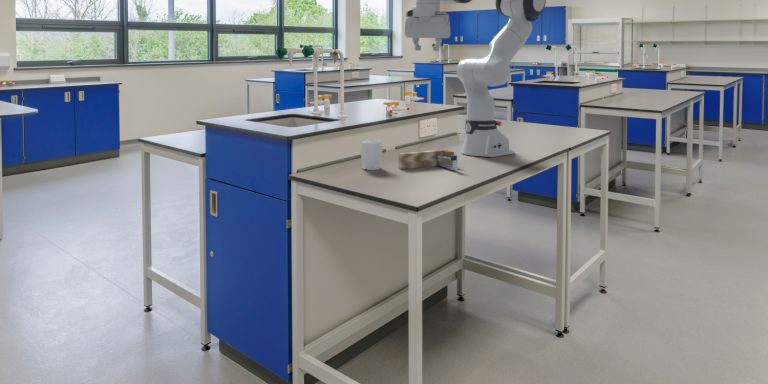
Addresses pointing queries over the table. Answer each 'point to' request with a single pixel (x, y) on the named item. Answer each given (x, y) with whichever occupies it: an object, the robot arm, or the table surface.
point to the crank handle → (447, 161)
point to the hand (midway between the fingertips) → (426, 50)
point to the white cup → (371, 154)
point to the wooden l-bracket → (421, 158)
